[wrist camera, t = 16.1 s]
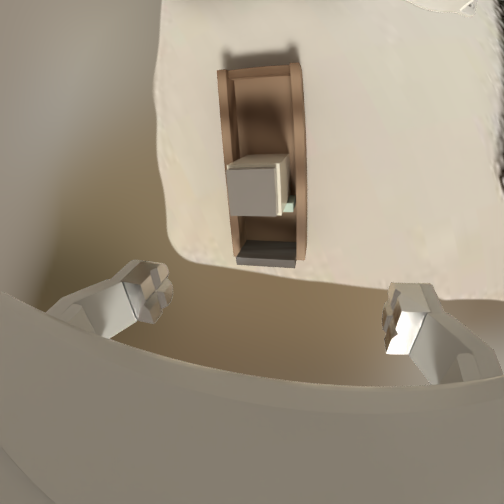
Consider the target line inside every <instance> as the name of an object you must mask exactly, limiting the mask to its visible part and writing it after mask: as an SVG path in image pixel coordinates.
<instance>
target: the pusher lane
mask: <svg viewBox="0 0 504 504" xmlns="http://www.w3.org/2000/svg"><path fill="white" fill-rule="evenodd" d="M217 79H218V93H219V105H220V118H221V130H222V141H223V153H224V164H225V174H226V170H227V165H228V164H230V163H232V162H234V161H236V160H238V159H240V158H242V157H245V156H247V155H254V154H289V156H290V183H291V195H296V205H295V208H294V211H293V212H283V213H282V215H277V216H276V217H271V216H230V225H231V235H232V244H233V253H234V256H235V257H236V262H237V265H252V266H267V267H284V268H295V265H296V260H305V254H306V248H307V157H306V128H305V109H304V92H303V78H302V69H301V66H300V64H299V63H290V65H278V66H264V67H254V68H245V69H237V70H229V71H228V70H226V69H224V70H218V71H217ZM226 185H227V177H226ZM227 195H228V187H227ZM228 205H229V198H228ZM229 215H230V208H229Z"/></svg>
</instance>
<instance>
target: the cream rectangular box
mask: <svg viewBox="0 0 504 504" xmlns="http://www.w3.org/2000/svg"><path fill="white" fill-rule="evenodd" d="M226 177H227V187H228V198H229V208H230V216H271V217H276V216H277V215H282V213H283V211H284V209H285V206H286V204H287V202H288V199H289V197H290V195H291V183H290V156H289V154H254V155H247V156H245V157H242V158H240V159H238V160H236V161H234V162H232V163H230V164H228V165H227V170H226Z"/></svg>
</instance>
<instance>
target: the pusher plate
mask: <svg viewBox="0 0 504 504" xmlns="http://www.w3.org/2000/svg"><path fill="white" fill-rule="evenodd" d="M295 205H296V195H290V197H289V199H288V202H287V204H286V206H285V209H284V211H283V212H293V211H294V208H295Z"/></svg>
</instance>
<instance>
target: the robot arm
mask: <svg viewBox="0 0 504 504" xmlns="http://www.w3.org/2000/svg"><path fill="white" fill-rule="evenodd" d="M406 1H408V2H410V3H412V4H414V5H416V6H418V7H421V8H424V9H427V10H430V11H435V12H454V13H457V14H460V15H462V16H465V17H468V18H472V17H473V16H474V15H475V12H476V6H477V0H406ZM468 5H469V6H468ZM168 275H169V271H168V268H167V266H166V265H165V264H164V263H156V262H149V261H141V260H132V261H130V262H129V263H128V264H127V265H126V266H125V267H124V268H122V269H121V270H120V271H119V272H118V273H117V274H116V275H115V276H114V277H113V278H111V279H110V280H108V279H107V280H105V281H102V282H100V283H97V284H95V285H92V286H90V287H87V288H85V289H82V290H80V291H77V292H75V293H72V294H70V295H68V296H66V297H63V298H61V299H60V300H59V301H58V302H57V303H56V304H54V305H53V306H52V307H51V308H50V309H49V310H48V311H47V312H46V313H44V312H42V311H40V310H38V309H36V308H34V307H32V306H30V305H28V304H26V303H24V302H22V301H20V300H18V299H16V298H14V297H13V296H11V295H9V294H7V293H5V292H0V504H504V375H503V372H502V369H501V367H500V364H499V361H498V359H497V356H496V354H495V351H494V350H493V349H492V348H491V347H490V346H489V345H487V344H486V343H485V342H484V341H483V340H482V339H480V338H479V337H478V336H477V335H476V334H474V333H473V332H472V331H471V330H469V329H468V328H467V327H466V326H464V325H463V324H462V323H461V322H459V321H458V320H457V319H455V318H454V317H453V316H451V314H449V313H445V312H444V310H443V307H442V305H441V303H440V300H439V298H438V296H437V294H436V292H435V290H434V287H433V285H432V284H430V283H391V284H390V286H389V289H388V296H389V300H388V301H387V302H386V303H385V304H384V308H383V314H382V327H383V330H384V331H385V332H386V335H385V338H384V341H385V348H386V353H387V354H409V356H410V358H411V359H412V360H413V362H414V363H415V364H416V365H417V367H418V368H419V369H420V371H421V372H422V373H423V374H424V376H425V377H426V378H427V380H428V381H429V383H430V384H431V385H422V386H421V385H420V386H397V387H396V386H392V387H372V386H371V387H370V386H366V387H365V386H342V385H341V386H340V385H327V384H315V383H304V382H295V381H286V380H279V379H271V378H265V377H258V376H252V375H245V374H240V373H235V372H229V371H224V370H219V369H215V368H210V367H205V366H200V365H196V364H192V363H188V362H184V361H180V360H176V359H172V358H168V357H165V356H161V355H158V354H154V353H151V352H147V351H144V350H141V349H137V348H134V347H131V346H128V345H125V344H122V343H119V342H116V341H113V340H111V339H109V338H111V337H112V336H114V335H116V334H117V333H119V332H120V331H122V330H124V329H125V328H127V327H128V326H130V325H132V324H133V323H135V322H136V321H137V320H138V321H142V322H147V323H152V324H155V322H156V321H157V320H158V318H159V317H160V316H161V314H162V308H164V307H166V306H168V305H169V303H170V302H171V299H172V296H173V286H172V283H171V282H170V281H169V280H168V278H167V277H168Z"/></svg>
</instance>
